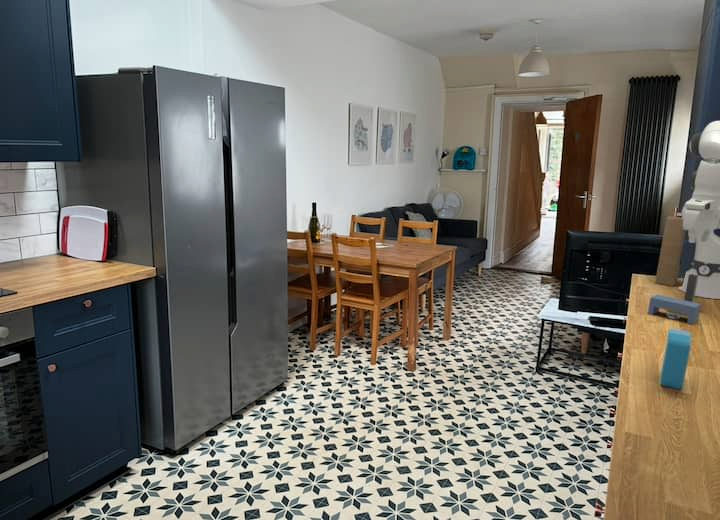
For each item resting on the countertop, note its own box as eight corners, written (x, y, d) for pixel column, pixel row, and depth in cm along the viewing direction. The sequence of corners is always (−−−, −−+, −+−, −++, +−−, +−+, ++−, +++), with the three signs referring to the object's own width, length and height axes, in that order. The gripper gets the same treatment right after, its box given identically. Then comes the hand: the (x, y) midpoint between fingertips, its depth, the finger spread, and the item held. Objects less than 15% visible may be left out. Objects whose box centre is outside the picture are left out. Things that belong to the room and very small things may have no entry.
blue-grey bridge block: (654, 310, 191) (657, 294, 190) (698, 320, 181) (701, 304, 180) (647, 313, 187) (650, 297, 185) (692, 324, 177) (695, 307, 175)
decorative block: (677, 281, 241) (689, 216, 235) (674, 286, 229) (686, 219, 223) (659, 278, 246) (670, 214, 239) (654, 283, 234) (666, 217, 227)
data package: (661, 370, 136) (669, 326, 134) (681, 374, 134) (690, 330, 131) (660, 387, 126) (669, 340, 123) (681, 392, 124) (691, 344, 121)
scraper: (677, 305, 199) (684, 272, 196) (698, 310, 194) (705, 276, 191) (667, 311, 191) (673, 277, 188) (688, 316, 186) (695, 281, 183)
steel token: (668, 315, 187) (668, 312, 187) (680, 318, 184) (680, 315, 184) (664, 317, 184) (664, 314, 184) (676, 320, 181) (677, 317, 181)
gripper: (708, 203, 196) (701, 239, 199) (682, 203, 185) (675, 241, 188) (727, 205, 191) (719, 242, 194) (701, 205, 180) (694, 244, 183)
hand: (697, 242), depth 191 cm, fingers open, 8 cm apart
